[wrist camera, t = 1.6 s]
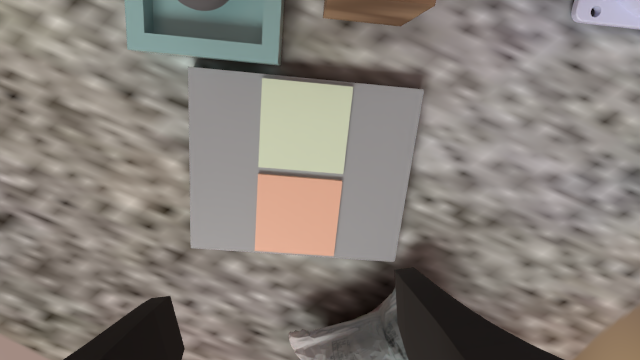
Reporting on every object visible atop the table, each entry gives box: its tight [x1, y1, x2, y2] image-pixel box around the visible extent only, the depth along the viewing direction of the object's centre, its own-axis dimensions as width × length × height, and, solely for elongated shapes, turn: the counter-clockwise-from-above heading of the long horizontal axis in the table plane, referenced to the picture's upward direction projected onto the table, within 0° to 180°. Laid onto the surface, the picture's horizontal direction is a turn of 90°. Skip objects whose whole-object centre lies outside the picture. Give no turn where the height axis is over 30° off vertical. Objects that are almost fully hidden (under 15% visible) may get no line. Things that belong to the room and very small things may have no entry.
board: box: [188, 67, 424, 262], centre depth 19 cm, size 12×10×1 cm
